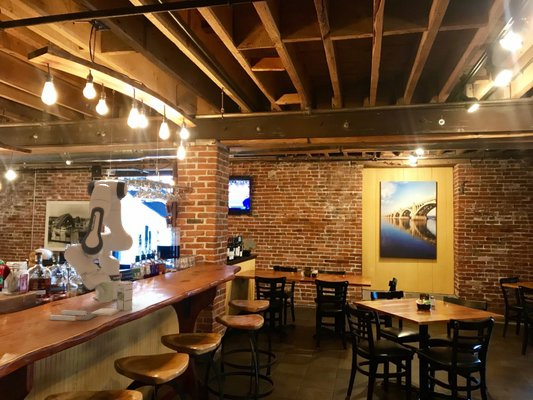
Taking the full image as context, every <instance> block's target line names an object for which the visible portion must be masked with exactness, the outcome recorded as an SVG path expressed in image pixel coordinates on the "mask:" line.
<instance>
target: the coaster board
mask: <svg viewBox="0 0 533 400" xmlns="http://www.w3.org/2000/svg"><path fill="white" fill-rule="evenodd" d="M118 312H120V310H119V309H117V308H103V307H101V308H99V309H97V310H94V311H93V312H91V313H90V314H98V316H110V317H111V316H113V315H115V314H117V313H118Z"/></svg>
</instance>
